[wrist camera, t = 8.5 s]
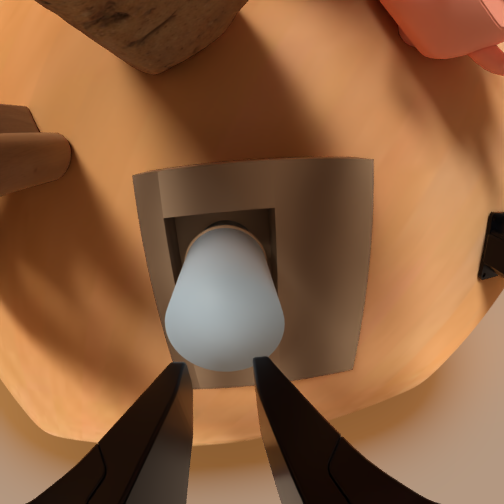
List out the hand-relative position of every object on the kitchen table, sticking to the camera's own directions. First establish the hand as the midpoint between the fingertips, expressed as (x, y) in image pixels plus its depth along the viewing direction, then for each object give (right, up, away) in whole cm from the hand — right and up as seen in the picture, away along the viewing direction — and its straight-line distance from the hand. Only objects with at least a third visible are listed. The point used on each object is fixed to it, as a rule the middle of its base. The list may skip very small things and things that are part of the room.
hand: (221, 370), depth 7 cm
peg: (-1, +3, +9) cm, 10 cm away
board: (+1, +2, +11) cm, 11 cm away
